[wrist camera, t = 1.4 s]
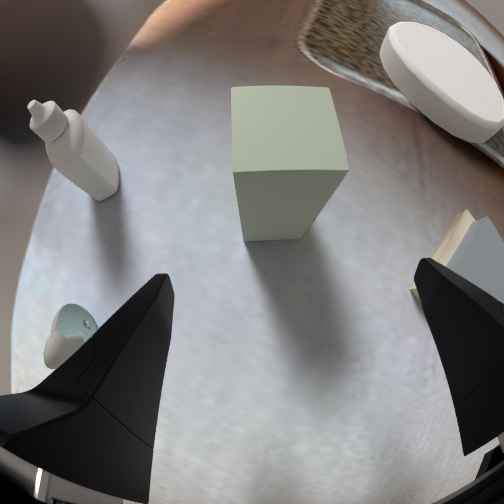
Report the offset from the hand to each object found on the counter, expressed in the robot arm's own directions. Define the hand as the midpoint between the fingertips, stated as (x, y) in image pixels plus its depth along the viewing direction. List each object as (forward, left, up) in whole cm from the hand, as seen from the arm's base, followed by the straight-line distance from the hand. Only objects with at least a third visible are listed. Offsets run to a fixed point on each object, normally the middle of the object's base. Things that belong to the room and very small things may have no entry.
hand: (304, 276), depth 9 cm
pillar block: (+5, -4, -12) cm, 14 cm away
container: (+2, -36, -13) cm, 38 cm away
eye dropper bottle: (+19, +4, -12) cm, 23 cm away
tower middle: (-13, -13, -10) cm, 22 cm away
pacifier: (+9, +16, -13) cm, 22 cm away
